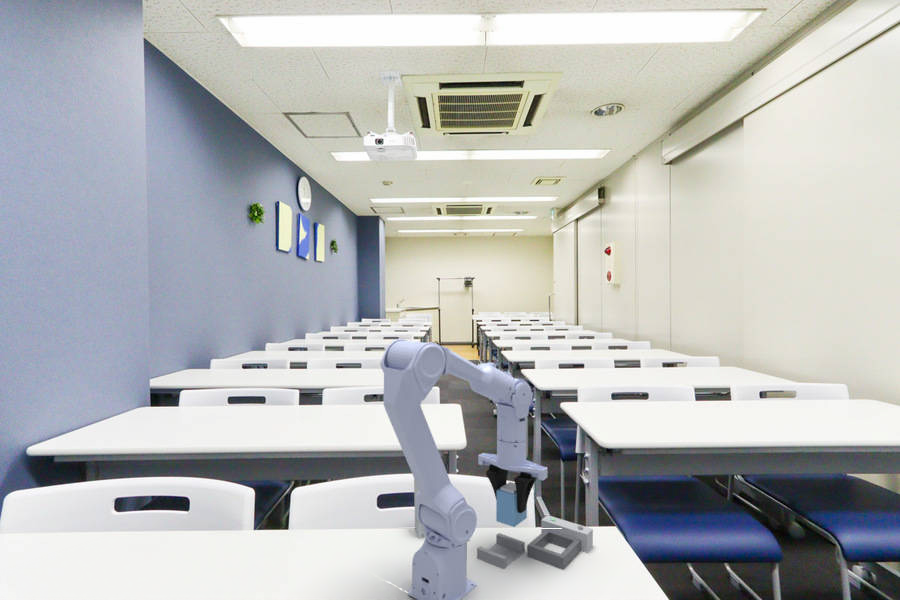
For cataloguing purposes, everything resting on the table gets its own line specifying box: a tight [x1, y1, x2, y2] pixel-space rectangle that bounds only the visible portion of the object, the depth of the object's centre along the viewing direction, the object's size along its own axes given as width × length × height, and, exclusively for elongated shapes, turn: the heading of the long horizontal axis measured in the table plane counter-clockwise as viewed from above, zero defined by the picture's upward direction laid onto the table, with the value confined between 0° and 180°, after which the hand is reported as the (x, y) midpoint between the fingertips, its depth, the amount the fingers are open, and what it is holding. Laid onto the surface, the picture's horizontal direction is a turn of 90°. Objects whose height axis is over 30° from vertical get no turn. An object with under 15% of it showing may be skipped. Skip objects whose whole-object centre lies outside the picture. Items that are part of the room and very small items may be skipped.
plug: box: [495, 481, 528, 528], centre depth 90 cm, size 5×4×6 cm
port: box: [526, 514, 594, 571], centre depth 92 cm, size 12×10×4 cm
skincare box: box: [413, 478, 426, 539], centre depth 99 cm, size 6×4×12 cm
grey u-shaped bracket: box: [476, 532, 526, 570], centre depth 90 cm, size 8×6×2 cm
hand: (511, 507), depth 90 cm, fingers closed on plug, 4 cm apart
